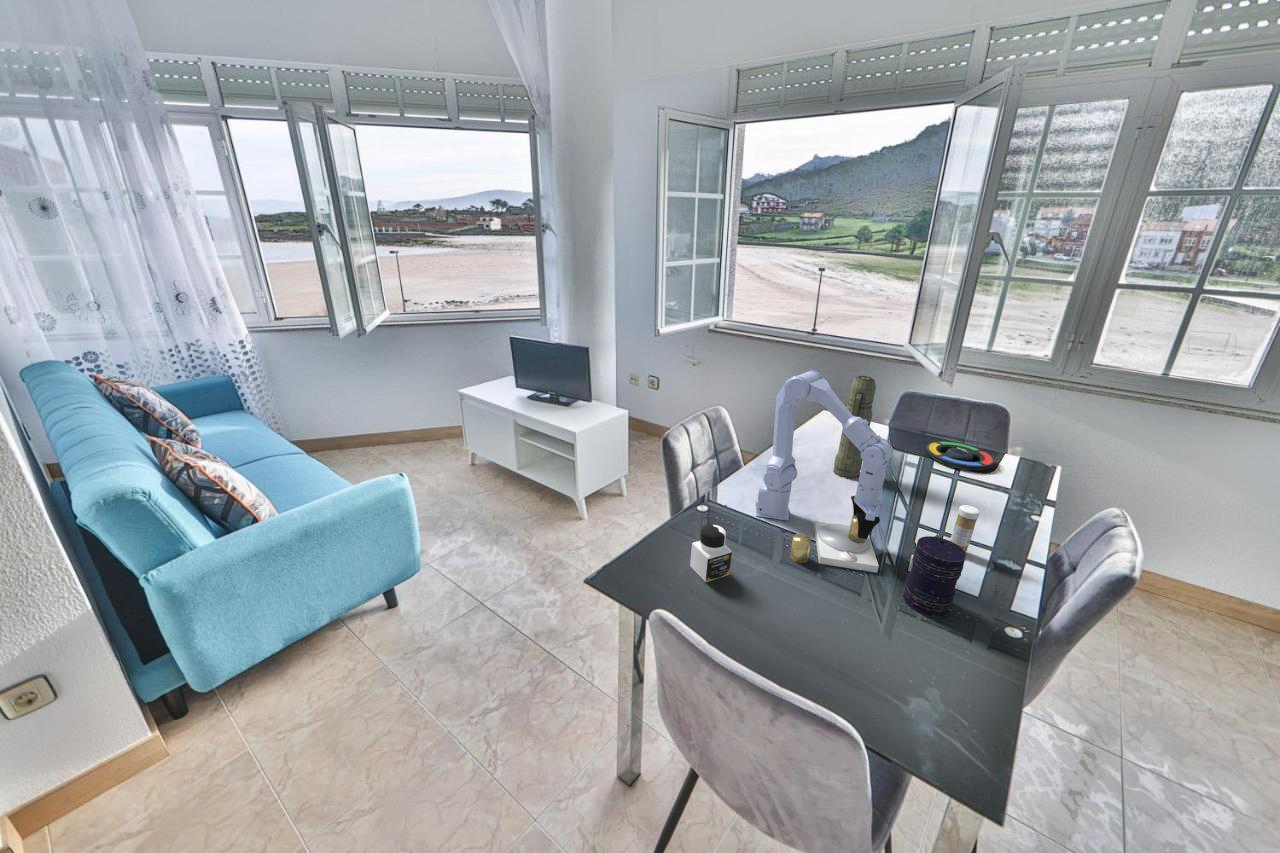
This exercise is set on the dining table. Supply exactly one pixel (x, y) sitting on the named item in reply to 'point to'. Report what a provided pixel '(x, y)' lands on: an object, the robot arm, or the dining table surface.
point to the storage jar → (933, 576)
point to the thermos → (859, 406)
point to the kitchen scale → (843, 548)
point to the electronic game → (960, 456)
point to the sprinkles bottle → (964, 526)
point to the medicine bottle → (711, 554)
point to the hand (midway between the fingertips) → (860, 530)
